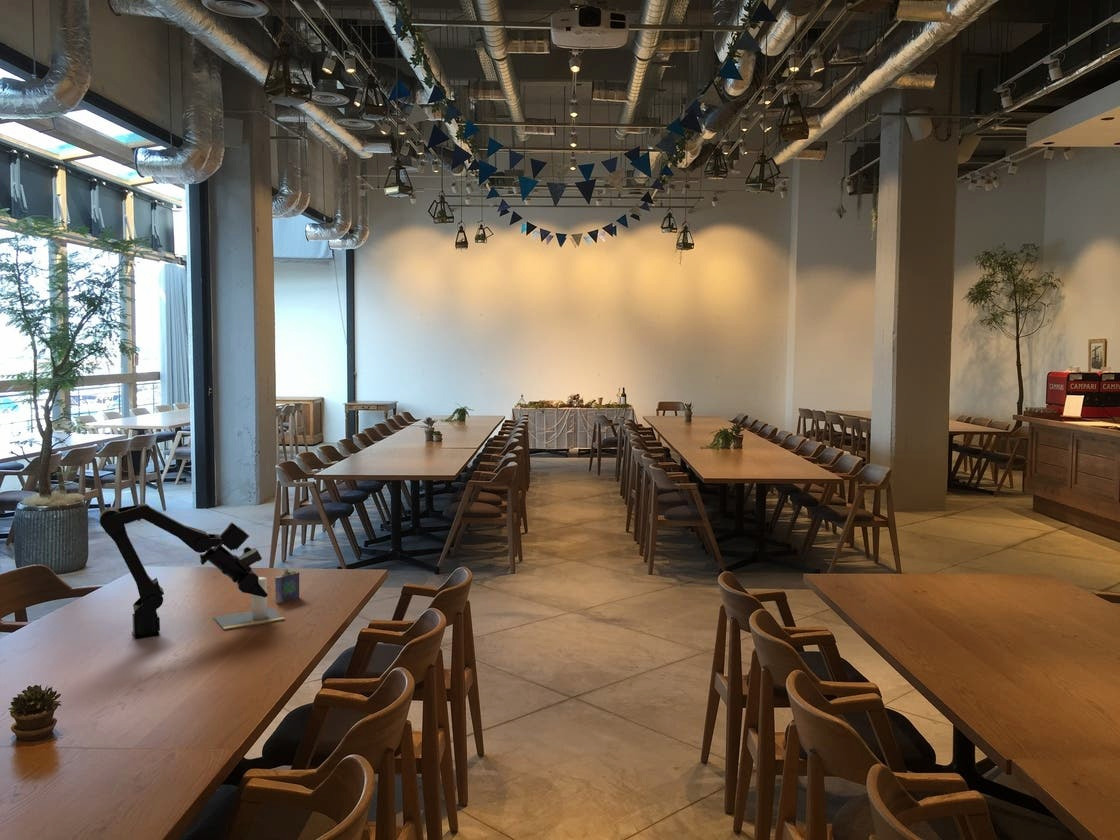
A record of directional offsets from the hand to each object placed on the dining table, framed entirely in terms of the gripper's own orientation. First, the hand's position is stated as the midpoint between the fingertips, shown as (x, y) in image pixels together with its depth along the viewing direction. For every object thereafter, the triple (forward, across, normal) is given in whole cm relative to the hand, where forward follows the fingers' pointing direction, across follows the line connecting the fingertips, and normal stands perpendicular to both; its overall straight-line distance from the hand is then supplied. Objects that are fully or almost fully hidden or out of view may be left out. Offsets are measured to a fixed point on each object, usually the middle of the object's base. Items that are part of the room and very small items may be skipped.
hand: (263, 592), depth 270 cm
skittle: (+4, 0, +6) cm, 8 cm away
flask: (+13, +16, -1) cm, 21 cm away
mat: (+2, +1, +9) cm, 9 cm away
